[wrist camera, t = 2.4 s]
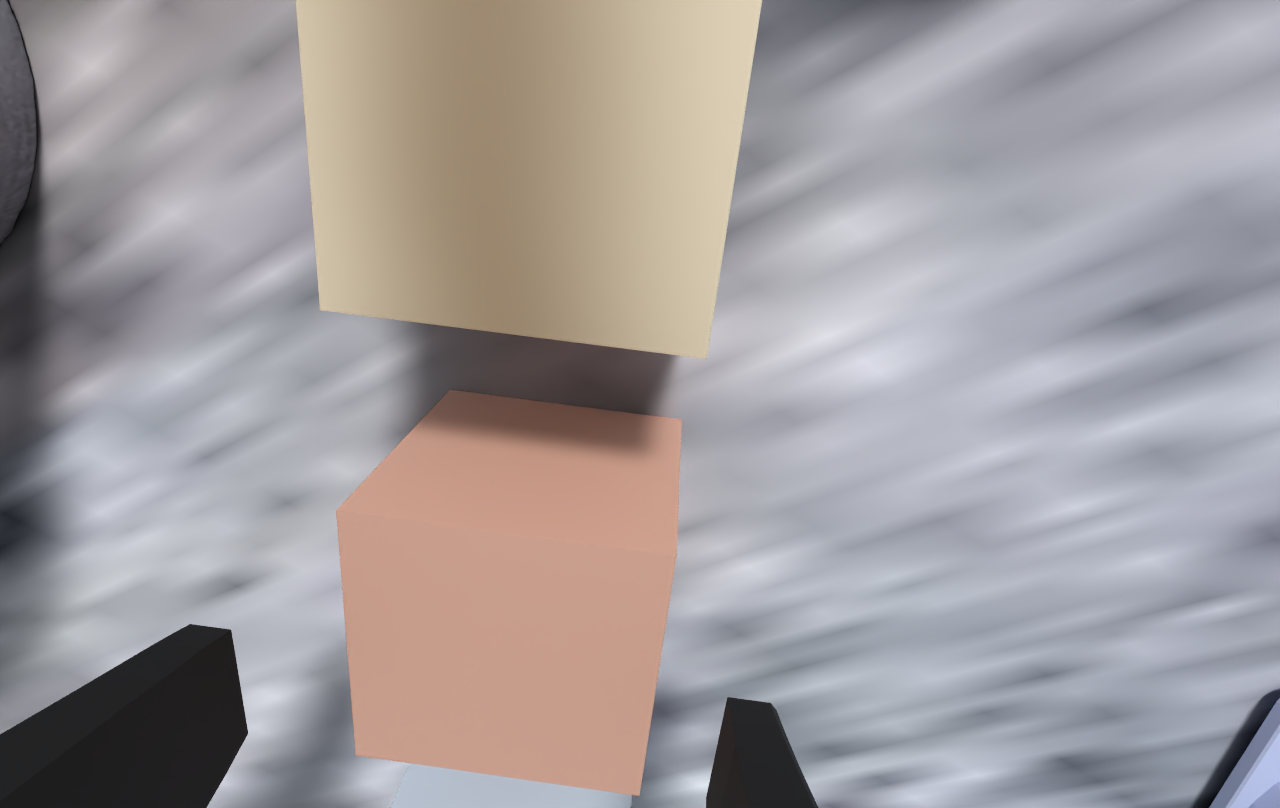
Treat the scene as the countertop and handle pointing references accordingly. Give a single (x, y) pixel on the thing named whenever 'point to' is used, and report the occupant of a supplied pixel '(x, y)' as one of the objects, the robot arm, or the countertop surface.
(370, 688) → the terracotta block
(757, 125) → the countertop surface
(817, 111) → the countertop surface
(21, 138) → the pillar candle
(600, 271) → the maple block
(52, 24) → the countertop surface
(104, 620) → the countertop surface
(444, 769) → the blue-grey block
